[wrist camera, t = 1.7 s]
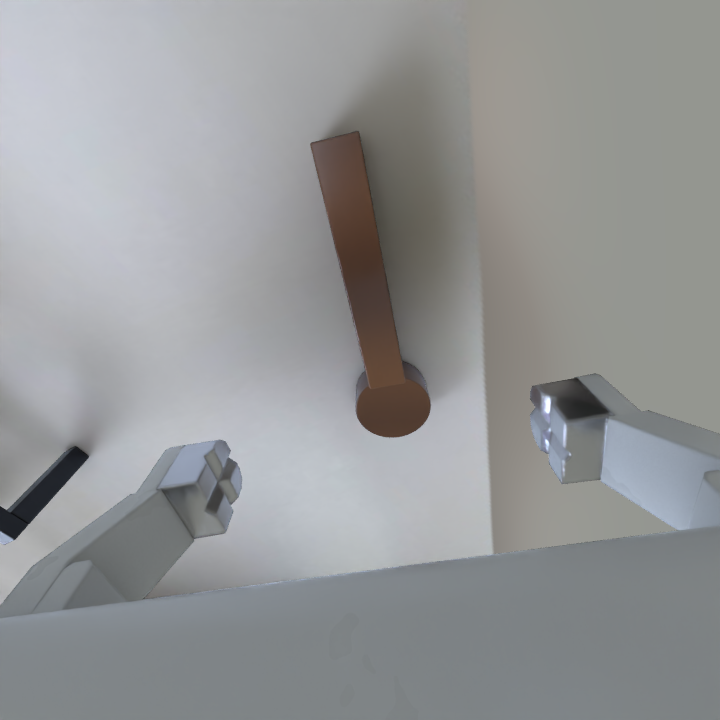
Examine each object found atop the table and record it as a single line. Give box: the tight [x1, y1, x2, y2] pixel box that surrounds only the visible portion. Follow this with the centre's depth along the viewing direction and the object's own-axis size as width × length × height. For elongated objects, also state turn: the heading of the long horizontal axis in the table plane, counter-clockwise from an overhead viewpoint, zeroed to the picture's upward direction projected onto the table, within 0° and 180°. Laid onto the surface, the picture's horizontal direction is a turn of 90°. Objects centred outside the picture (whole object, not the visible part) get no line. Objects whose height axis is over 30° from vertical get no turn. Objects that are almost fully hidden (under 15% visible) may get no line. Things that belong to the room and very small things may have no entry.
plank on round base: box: [311, 131, 431, 437], centre depth 20 cm, size 16×4×3 cm, turn 12°
